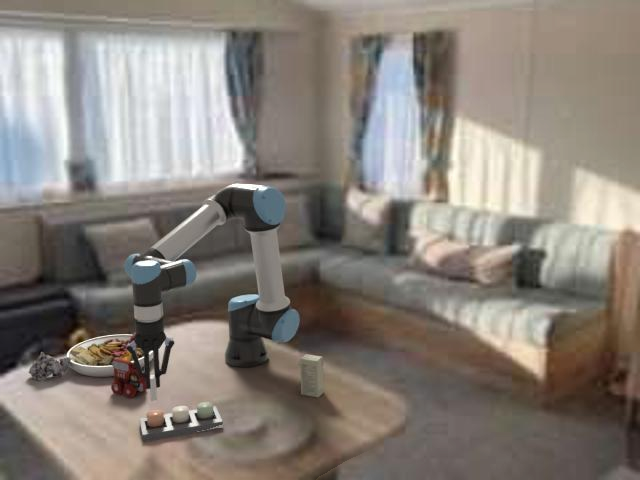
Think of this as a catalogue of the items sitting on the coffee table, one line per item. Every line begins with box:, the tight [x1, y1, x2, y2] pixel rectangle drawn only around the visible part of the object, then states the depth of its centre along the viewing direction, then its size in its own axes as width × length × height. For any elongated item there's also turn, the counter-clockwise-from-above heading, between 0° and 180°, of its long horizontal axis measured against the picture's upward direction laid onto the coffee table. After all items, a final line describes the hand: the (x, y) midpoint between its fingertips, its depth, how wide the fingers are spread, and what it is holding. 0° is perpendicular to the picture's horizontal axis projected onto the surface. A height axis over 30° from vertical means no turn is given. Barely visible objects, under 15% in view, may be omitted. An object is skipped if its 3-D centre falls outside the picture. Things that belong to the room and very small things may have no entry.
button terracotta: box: [146, 409, 165, 428], centre depth 187 cm, size 5×5×3 cm
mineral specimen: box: [28, 351, 72, 382], centre depth 222 cm, size 12×9×10 cm
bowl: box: [66, 332, 154, 378], centre depth 234 cm, size 30×30×8 cm
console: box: [139, 405, 224, 442], centre depth 190 cm, size 22×10×2 cm, turn 110°
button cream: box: [171, 405, 190, 423], centre depth 189 cm, size 5×5×3 cm
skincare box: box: [299, 353, 325, 398], centre depth 209 cm, size 6×4×12 cm
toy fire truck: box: [110, 359, 148, 399], centre depth 211 cm, size 7×12×10 cm, turn 64°
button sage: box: [196, 401, 214, 419], centre depth 191 cm, size 5×5×3 cm
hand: (153, 398), depth 185 cm, fingers closed
